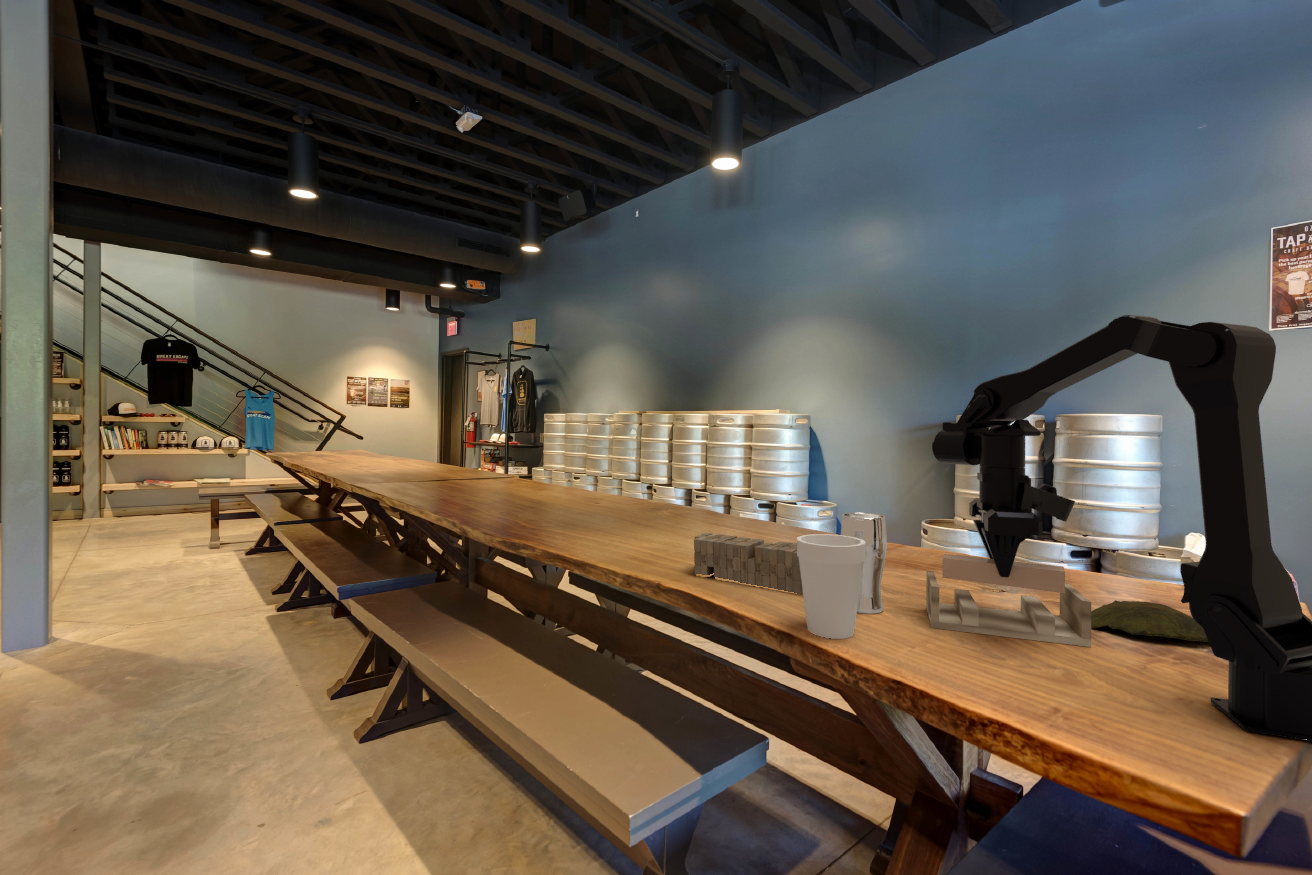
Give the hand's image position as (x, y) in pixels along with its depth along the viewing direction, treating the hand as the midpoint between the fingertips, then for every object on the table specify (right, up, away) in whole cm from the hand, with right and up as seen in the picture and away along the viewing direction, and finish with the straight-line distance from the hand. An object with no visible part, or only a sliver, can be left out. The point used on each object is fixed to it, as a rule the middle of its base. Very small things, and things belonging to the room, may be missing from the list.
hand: (1001, 573), depth 82 cm
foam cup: (-26, -8, -2) cm, 27 cm away
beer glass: (-17, -8, +8) cm, 21 cm away
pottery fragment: (+20, -8, -1) cm, 22 cm away
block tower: (-30, -8, +24) cm, 39 cm away
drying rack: (0, -8, 0) cm, 8 cm away
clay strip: (0, -1, 0) cm, 1 cm away
